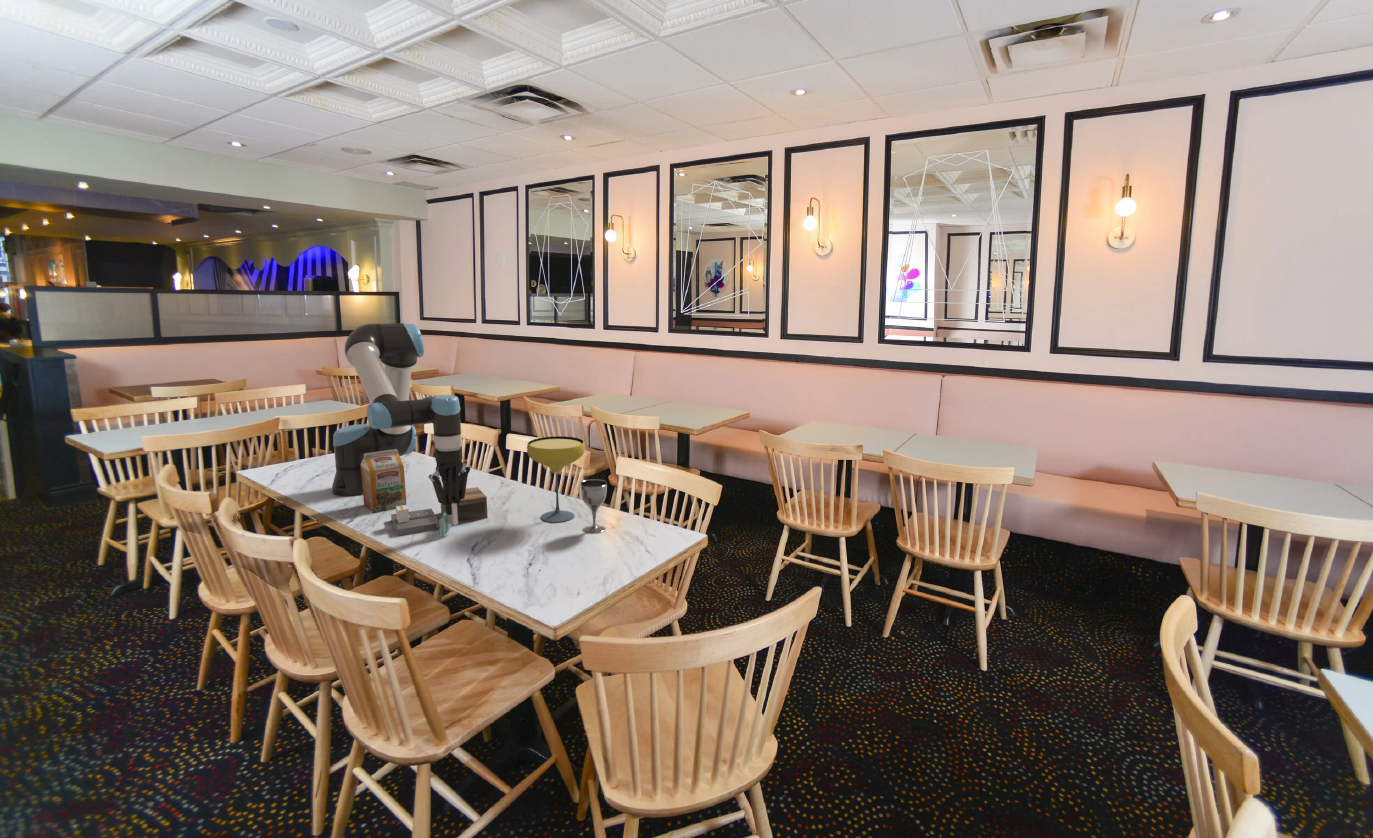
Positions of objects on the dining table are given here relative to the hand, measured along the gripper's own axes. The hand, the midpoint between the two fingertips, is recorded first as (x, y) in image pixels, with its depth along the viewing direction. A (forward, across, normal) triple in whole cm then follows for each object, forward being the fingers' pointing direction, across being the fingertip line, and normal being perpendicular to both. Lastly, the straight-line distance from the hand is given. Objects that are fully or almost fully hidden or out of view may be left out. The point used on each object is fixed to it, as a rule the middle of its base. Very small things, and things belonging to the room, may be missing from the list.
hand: (453, 523), depth 190 cm
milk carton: (+3, -1, -39) cm, 39 cm away
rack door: (+3, +1, -3) cm, 4 cm away
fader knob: (+1, +6, -16) cm, 17 cm away
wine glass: (+3, -27, +32) cm, 42 cm away
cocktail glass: (+3, -28, +15) cm, 32 cm away
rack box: (+3, -11, -10) cm, 15 cm away
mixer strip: (+3, +3, -15) cm, 15 cm away
